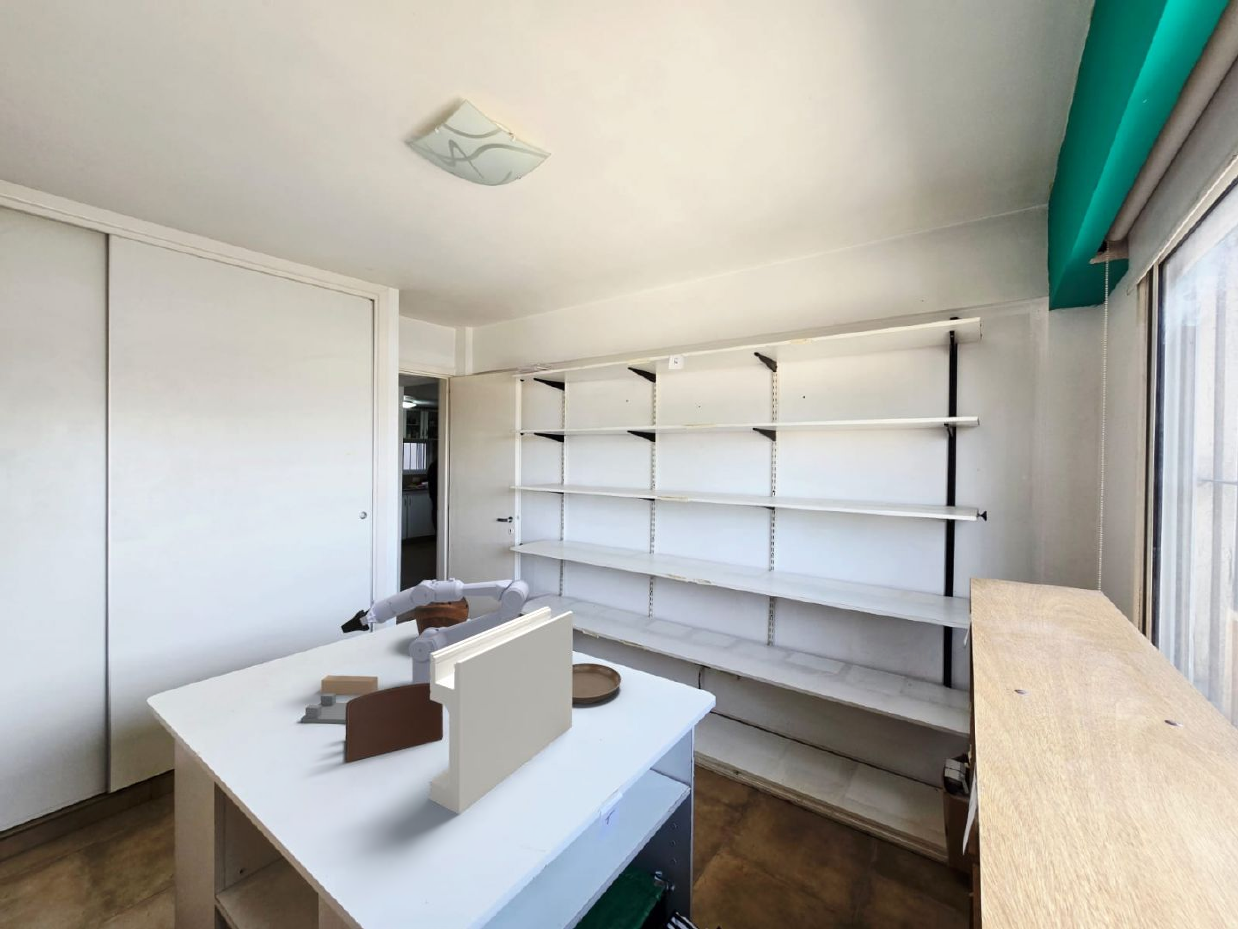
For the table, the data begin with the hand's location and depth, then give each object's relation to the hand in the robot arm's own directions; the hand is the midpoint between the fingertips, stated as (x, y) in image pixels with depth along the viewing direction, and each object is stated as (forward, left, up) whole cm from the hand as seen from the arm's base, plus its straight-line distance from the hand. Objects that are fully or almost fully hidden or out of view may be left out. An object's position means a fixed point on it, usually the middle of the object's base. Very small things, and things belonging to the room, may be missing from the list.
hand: (350, 625), depth 141 cm
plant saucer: (-65, -3, -18) cm, 68 cm away
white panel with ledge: (-52, +30, -18) cm, 63 cm away
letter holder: (-24, +24, -18) cm, 39 cm away
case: (-14, -31, -18) cm, 38 cm away
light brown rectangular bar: (-1, +2, -18) cm, 18 cm away
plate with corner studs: (-6, +14, -18) cm, 23 cm away
